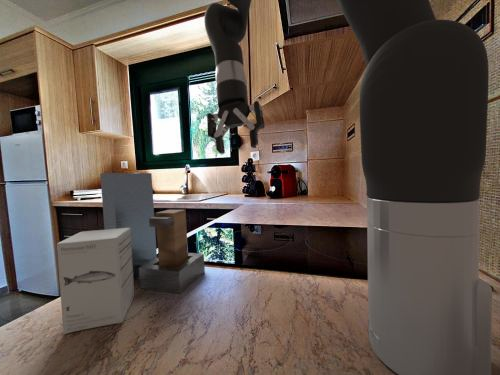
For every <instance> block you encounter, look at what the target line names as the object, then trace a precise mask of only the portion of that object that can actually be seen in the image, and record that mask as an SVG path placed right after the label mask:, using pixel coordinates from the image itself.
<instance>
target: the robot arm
mask: <svg viewBox="0 0 500 375" xmlns="http://www.w3.org/2000/svg"><path fill="white" fill-rule="evenodd" d="M226 1H227V2H229V4H230V5H232V6H233V7H234V8H233V7H229V6H226V5H223V4H221V3H219V2H218V3H217V2H214V3H213V2H212V3H210V4H209V5H208V6H207V8H206V10H205V11H204V12H205V13H204V29H205V32H206V35H207V38H208V41H209V44H210V45H211V49H212V52H213V54H214V55H213V56H214V62H215V86H216V98H217V106H218V111H217V113H213V114H212V113H210V112H208V113H207V115H206V121H207V123H206V124H207V136H208V137H209V138H212V139H214V141H215V148H216V151H217V152H218V153H219V154H220V155H223V154H225V153H226V152H225V141H224V137H225V135H226V133H227V134H228V132H229V130H230V129H234V128H236V127H239V128H240V127H243V125H244V124H245V125H246V126H247V128H248V129H249V130H250V131H248V132H249V141H250V142H249V143H250V147H251V148H252V149H255V148H257V146H258V145H259V136H258V132H259V131H260V130H262V129H264V128H265V126H266V125H265V121H264V114H263V113H264V112H263V109H262V108H263V107H262V105H261V104H260V102H259V101H257V100H255V101H254V102H253V104H249V98H248V88H247V87H248V86H247V84H248V82H247V76H246V72H245V67H244V66H245V65H244V57H243V56H244V55H243V49H242V47H241V45H240V44H239V43H241V42H242V41H243V40H244V38H245V36H246V32H247V28H248V20H249V14H250V9H251V3H252V0H226ZM336 3H337V4H338V6H339V8H340V10H341V11H342V14H343V16H344V17H345V20H346V21H347V23H348V25H349V27H350V28H351V30H352V32H353V33H354V36H355V38H356V39H357V42H358V44H359V47H360V51H361V52H362V56H363V60H364V64H365V67H366V68H365V70H364V72H363V75H362V79H361V84H360V88H359V128H360V152H361V154H360V155H361V166H362V172H363V175H364V180H365V185H366V186H365V188H366V222H367V223H366V226H367V227H366V228H367V231H366V233H367V236H366V237H367V238H366V239H367V300H368V301H367V302H368V303H367V305H368V308H367V309H368V311H367V312H368V318H367V326H368V341H369V342H368V343H369V345H370V347H371V349H372V352H374V353H375V355H376V356H377V358H378V359H379V360H380V361H381V362H382V363H383V364H384V365H385V366H386V367H388V369H390V370H391V371H392V372H394V373H395V374H397V375H492V342H493V341H492V338H493V336H492V334H493V332H492V331H493V330H492V327H493V326H492V324H493V319H492V318H493V287H491V285H490V284H489V283H488V282H486V281H485V280H484V279H481V277H479V276H480V208H481V207H480V206H481V205H480V203H481V202H480V201H481V200H480V198H481V197H480V196H481V195H480V194H481V181H482V180H481V179H482V175H483V171H484V167H485V162H486V156H487V155H486V154H487V133H488V132H487V131H488V129H487V128H488V111H489V109H488V107H489V106H488V105H489V73H490V72H489V59H488V53H487V49H486V45H485V43H484V40H482V37H480V35H479V34H478V33H477V31H475V30H474V29H472V27H470V26H469V25H468V24H467V25H466V24H464V23H462V22H459V21H456V20H452V19H437V17H436V15H435V14H434V11H433V9H432V5H431V2H430V0H336ZM251 111H252V113H253V114H255V121H256V123H255V124H253V123H252V122H251V121H250V119H248V117H249V116H250V114H251ZM218 120H220V121H219V122H218ZM217 123H218V124H217Z"/></svg>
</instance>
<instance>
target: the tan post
mask: <svg viewBox="0 0 500 375" xmlns="http://www.w3.org/2000/svg"><path fill="white" fill-rule="evenodd" d="M186 215H187V212H186V209H166V210H162V211H158V212H157V211H156V212H155V216H154V217H152V218H149V226H150V227H155V228H156V238H157V239H156V242H157V258H158V257H159V266H169V267H178V266H179V265H181V264H182V263H184V262H185V261H187V260H188V253H189V248H188V234H187V232H188V229H187V216H186Z"/></svg>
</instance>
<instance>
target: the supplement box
mask: <svg viewBox="0 0 500 375" xmlns="http://www.w3.org/2000/svg"><path fill="white" fill-rule="evenodd" d="M56 250H57V265H58V266H57V267H58V279H59V292H60V303H61V319H62V320H61V321H62V333H63V334H64V335H67V334H71V333H75V332H78V331H84V330H88V329H94V328H100V327H104V326H109V325H117V324H121V323H123V321H124V320H125V317H126V316H127V314H128V311H129V309H130V307H131V305H132V303H133V300H134V298H135V290H134V289H135V284H134V280H133V265H132V249H131V228H118V229H107V230H105V229H96V230H87V231H86V230H85V231H80V232H78V233H76V234H73V235H71V236H69V237H67V238H65V239H63V240H61V241H59V242H57V243H56Z"/></svg>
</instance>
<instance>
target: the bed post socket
mask: <svg viewBox="0 0 500 375" xmlns="http://www.w3.org/2000/svg"><path fill="white" fill-rule="evenodd" d="M99 175H100V187H101V188H100V189H101V200H102V202H101V203H102V213H103V216H102V217H103V224H104V225H103V226H104V229H103V230H107V229H118V228H131V249H132V265H133V281H135V280H139V287H140V289H144V290H151V291H157V292H165V293H172V294H178V295H179V294H180V295H182V293H183V292H184V291H185V290H186V289H187V288H189V287H190V286H191V285H192V284H193V283H194V282H195V281H196V280H198V279H199V278H200V277H201V276H202V275H204V273H205V270H206V269H205V254H204V253H197V252H188V260H187V261H185V262H184V263H182V264H181V265H179V266H178V267H169V266H159V257H158V250H157V239H156V238H157V235H156V227H150V226H149V218H152V217H155V207H154V192H153V179H152V178H153V176H152V172H151V173H150V172H149V173H148V172H147V173H146V172H143V173H140V172H134V173H133V172H110V173H109V172H108V173H107V172H105V173H100V174H99Z"/></svg>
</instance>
